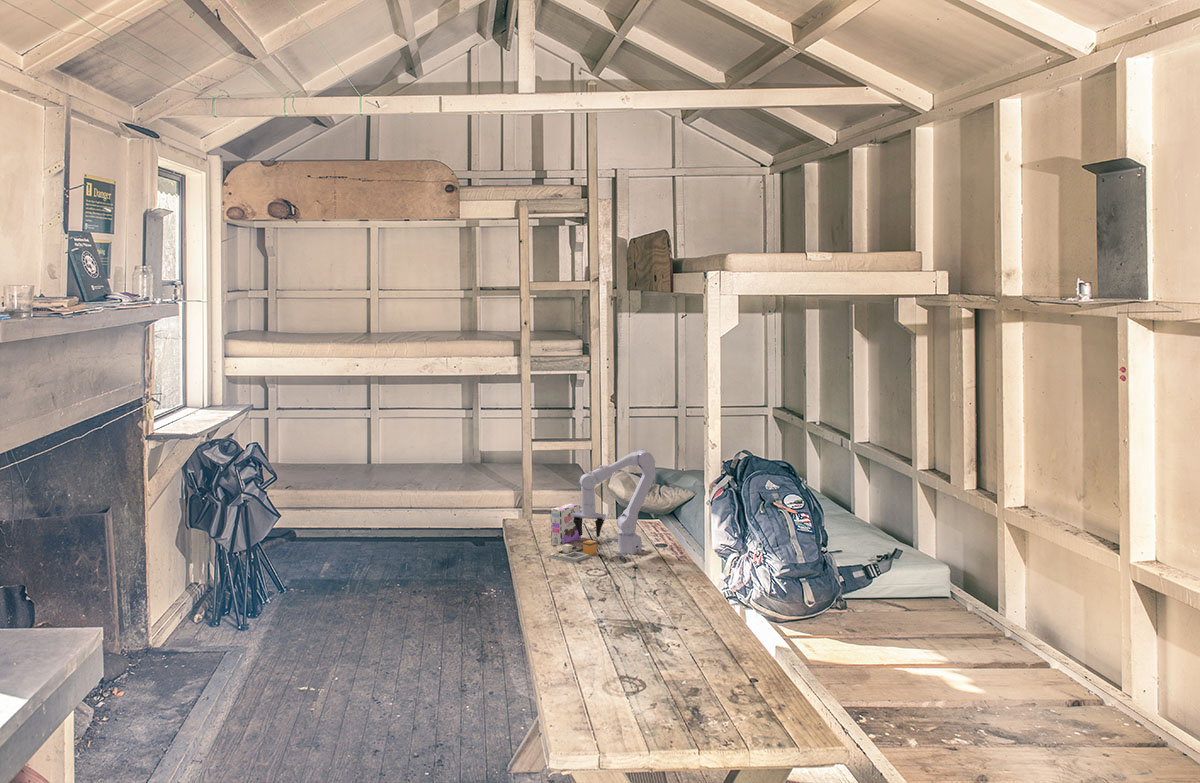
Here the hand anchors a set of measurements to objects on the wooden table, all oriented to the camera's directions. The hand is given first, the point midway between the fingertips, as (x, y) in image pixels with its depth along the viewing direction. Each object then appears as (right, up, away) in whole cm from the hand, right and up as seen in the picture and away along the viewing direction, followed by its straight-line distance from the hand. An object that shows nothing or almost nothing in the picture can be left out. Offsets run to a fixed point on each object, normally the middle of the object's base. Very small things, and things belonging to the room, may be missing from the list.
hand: (589, 535), depth 385 cm
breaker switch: (-9, -7, +3) cm, 12 cm away
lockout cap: (0, -7, +1) cm, 7 cm away
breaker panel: (-6, -9, -1) cm, 11 cm away
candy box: (-10, -7, +24) cm, 27 cm away
